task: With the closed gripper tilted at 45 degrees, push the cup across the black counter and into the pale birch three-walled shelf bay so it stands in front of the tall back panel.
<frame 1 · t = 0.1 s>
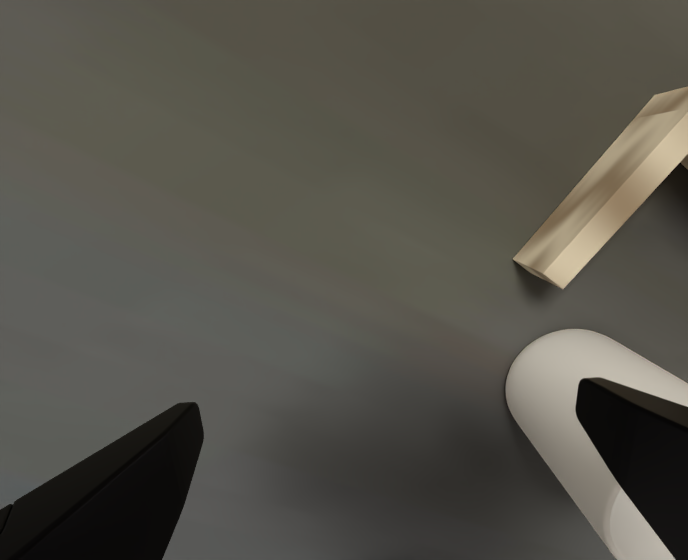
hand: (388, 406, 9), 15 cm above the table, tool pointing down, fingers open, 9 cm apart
shelf bay: (685, 291, 23), on the table
cup: (576, 394, 26), on the table
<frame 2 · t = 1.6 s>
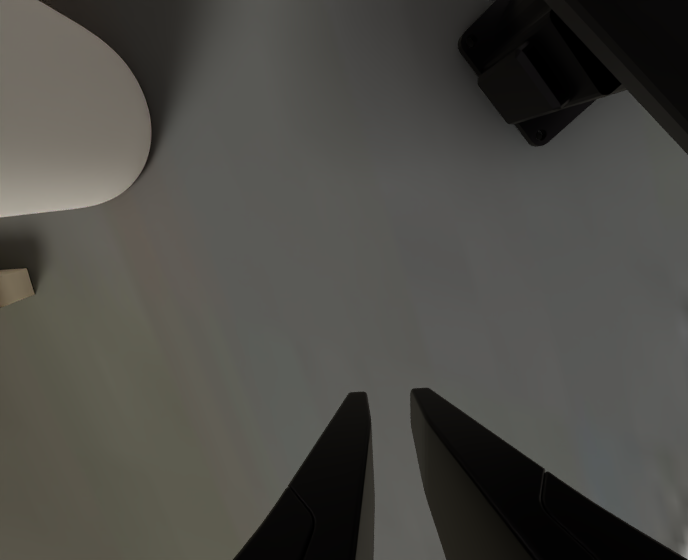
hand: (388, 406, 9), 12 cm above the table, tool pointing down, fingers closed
cup: (68, 79, 18), on the table
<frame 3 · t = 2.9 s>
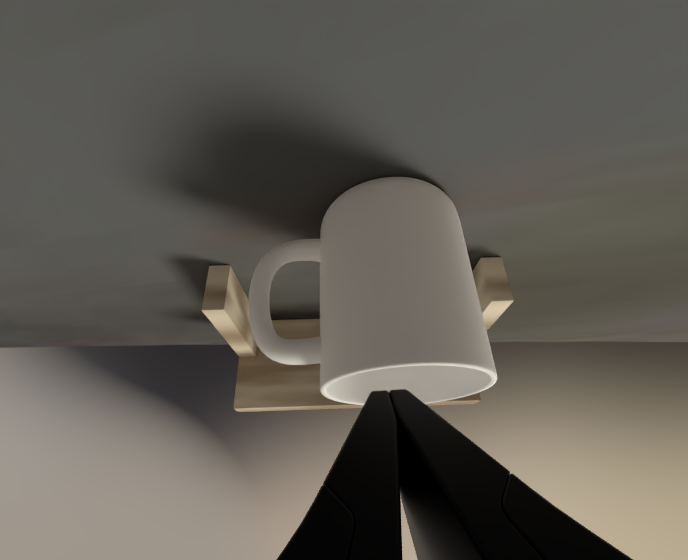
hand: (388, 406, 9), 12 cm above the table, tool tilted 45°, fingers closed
shelf bay: (354, 293, 31), on the table
cup: (357, 218, 22), on the table
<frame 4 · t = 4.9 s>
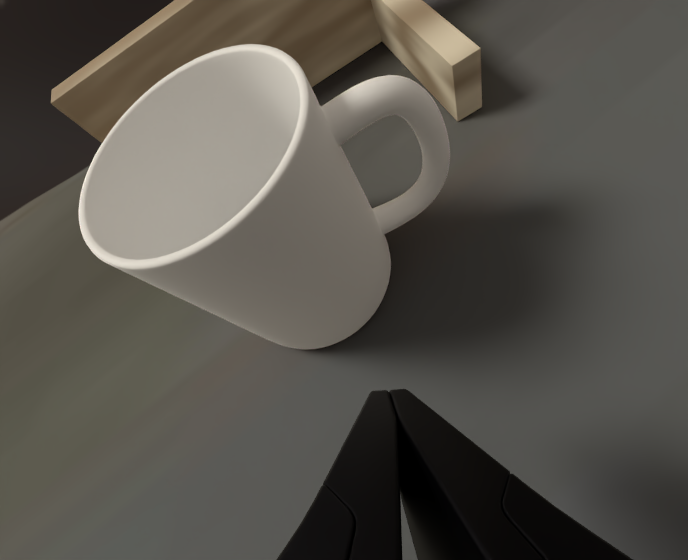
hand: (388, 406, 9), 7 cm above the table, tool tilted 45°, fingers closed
shelf bay: (294, 153, 24), on the table
cup: (351, 264, 19), on the table
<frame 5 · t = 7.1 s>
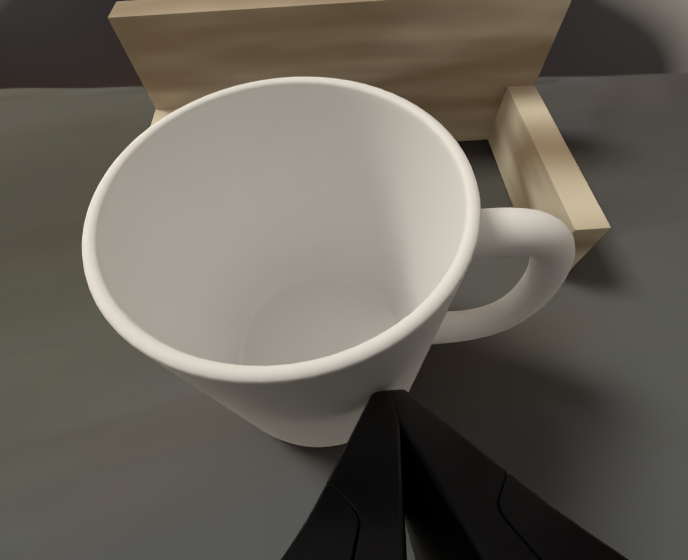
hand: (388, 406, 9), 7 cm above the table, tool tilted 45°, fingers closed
shelf bay: (352, 208, 21), on the table
cup: (364, 350, 17), on the table, touching gripper
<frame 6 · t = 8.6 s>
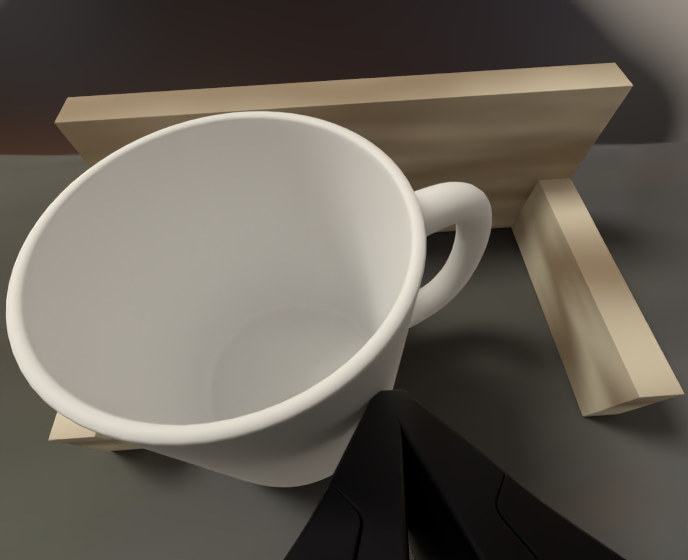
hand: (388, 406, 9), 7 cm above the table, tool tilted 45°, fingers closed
shelf bay: (356, 321, 18), on the table
cup: (334, 365, 17), on the table, touching gripper
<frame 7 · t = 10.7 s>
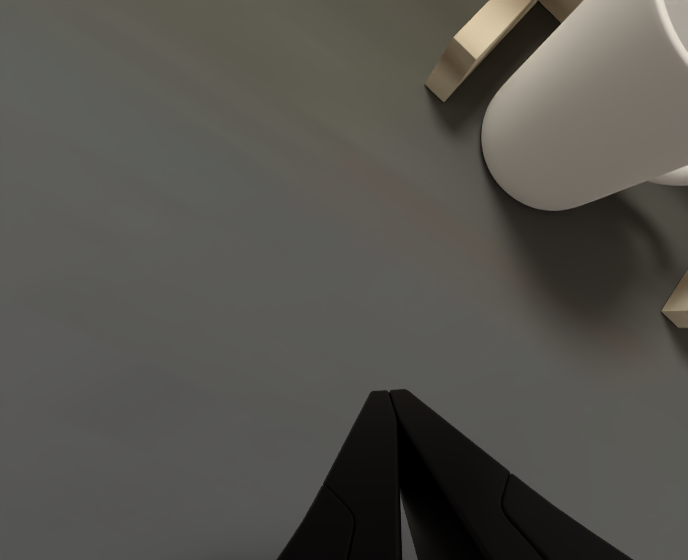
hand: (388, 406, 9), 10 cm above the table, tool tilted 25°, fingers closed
shelf bay: (598, 152, 22), on the table
cup: (563, 161, 22), on the table
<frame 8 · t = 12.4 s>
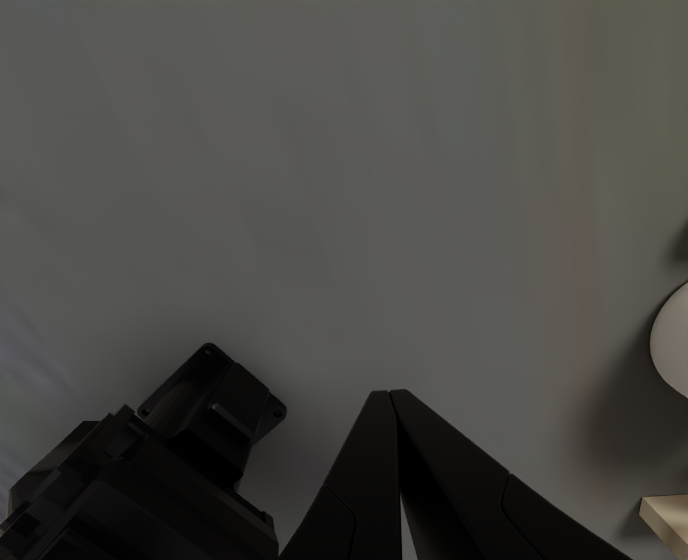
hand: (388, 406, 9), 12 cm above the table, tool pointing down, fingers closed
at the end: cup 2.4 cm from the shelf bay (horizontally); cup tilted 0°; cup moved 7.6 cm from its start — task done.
